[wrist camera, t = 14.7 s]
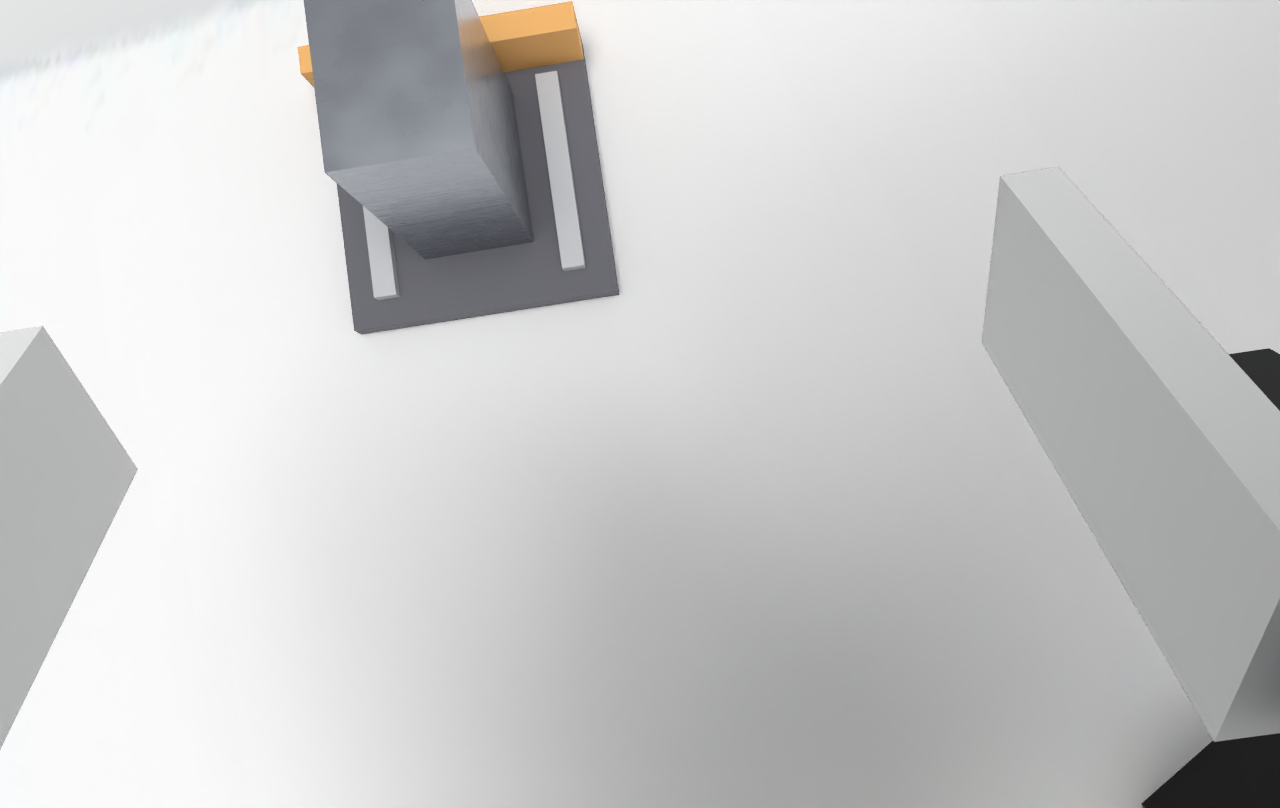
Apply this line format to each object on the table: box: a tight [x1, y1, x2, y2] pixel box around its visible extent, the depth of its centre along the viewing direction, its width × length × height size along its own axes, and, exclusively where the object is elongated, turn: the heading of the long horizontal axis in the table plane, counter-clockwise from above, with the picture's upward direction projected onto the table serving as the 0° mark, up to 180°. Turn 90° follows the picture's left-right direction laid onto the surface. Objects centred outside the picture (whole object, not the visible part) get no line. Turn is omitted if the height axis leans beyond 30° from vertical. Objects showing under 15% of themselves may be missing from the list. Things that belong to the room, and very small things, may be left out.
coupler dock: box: [298, 1, 619, 334], centre depth 42 cm, size 12×12×4 cm
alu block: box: [304, 0, 534, 260], centre depth 38 cm, size 5×7×12 cm
